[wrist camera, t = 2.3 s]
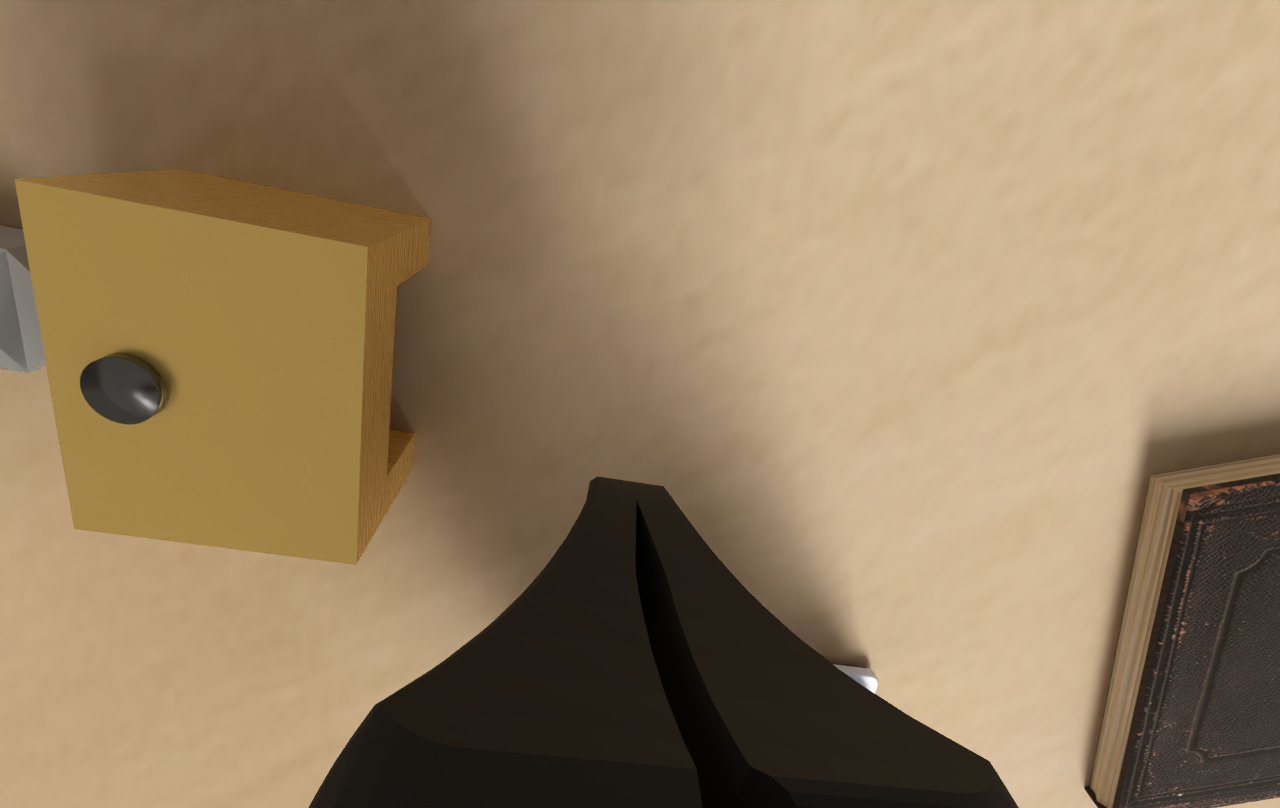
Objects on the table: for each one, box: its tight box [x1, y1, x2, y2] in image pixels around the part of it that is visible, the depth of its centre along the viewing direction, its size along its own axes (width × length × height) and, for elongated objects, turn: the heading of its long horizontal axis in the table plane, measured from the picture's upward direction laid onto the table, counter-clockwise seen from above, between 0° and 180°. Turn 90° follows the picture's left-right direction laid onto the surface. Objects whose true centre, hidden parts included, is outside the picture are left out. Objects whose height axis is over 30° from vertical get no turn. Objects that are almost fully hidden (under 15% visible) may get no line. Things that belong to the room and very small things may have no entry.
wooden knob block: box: [14, 169, 431, 564], centre depth 15 cm, size 6×7×5 cm
